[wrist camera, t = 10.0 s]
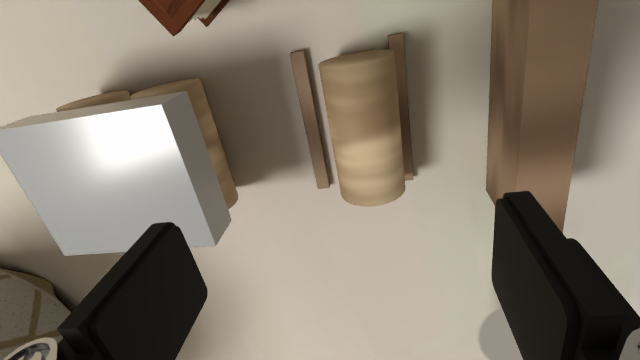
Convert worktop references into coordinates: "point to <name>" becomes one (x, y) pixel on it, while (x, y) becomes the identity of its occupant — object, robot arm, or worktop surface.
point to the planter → (27, 311)
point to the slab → (117, 173)
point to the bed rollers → (307, 107)
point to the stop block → (537, 97)
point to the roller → (365, 125)
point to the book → (183, 12)
